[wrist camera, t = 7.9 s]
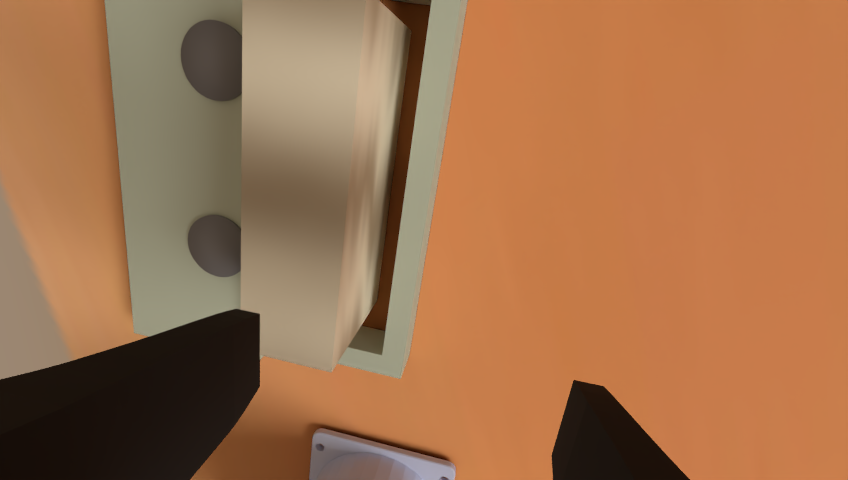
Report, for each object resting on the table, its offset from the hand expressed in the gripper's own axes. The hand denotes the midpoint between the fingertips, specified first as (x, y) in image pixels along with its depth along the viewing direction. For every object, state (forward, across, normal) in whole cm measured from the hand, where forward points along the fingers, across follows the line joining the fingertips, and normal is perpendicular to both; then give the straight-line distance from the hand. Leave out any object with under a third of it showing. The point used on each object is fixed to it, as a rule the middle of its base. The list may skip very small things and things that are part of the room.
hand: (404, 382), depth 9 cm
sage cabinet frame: (+10, +8, -2) cm, 13 cm away
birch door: (+10, +5, -3) cm, 11 cm away
